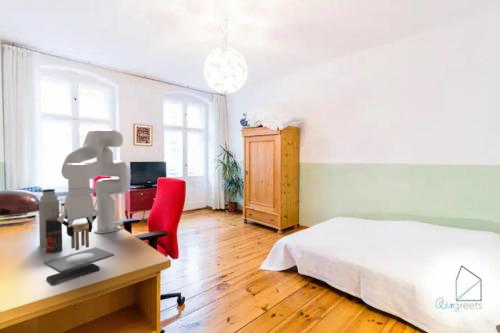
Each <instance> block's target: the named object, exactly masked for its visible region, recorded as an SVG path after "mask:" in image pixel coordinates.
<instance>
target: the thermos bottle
mask: <svg viewBox="0 0 500 333" xmlns="http://www.w3.org/2000/svg"><path fill="white" fill-rule="evenodd" d="M58 198H59V197H58V195H57V194H56V189H55V188H53V189H52V188H47V189H42V195H41V196H40V200H38V224H39V227H38V228H39V235H38V236H39V247H41V248H44V247H45V248H46V220H47V219H52V218H59V217H60V199H58Z"/></svg>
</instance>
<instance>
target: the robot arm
mask: <svg viewBox="0 0 500 333" xmlns="http://www.w3.org/2000/svg"><path fill="white" fill-rule="evenodd" d="M123 143H124V138H123V135H122V134H121V132H119V131H117V130H116V129H111V128H110V129H107V128H94V129H90V130H89V131H87V134H86V136H85V138H84V142H83V144H82V146H81V147H79V148H77V149H75V150H73V151H72V152H70V153H68V154H67V156H66V157H65V159H64V161H63V164H62V166H61V167H62V168H61V171H60V172H61V175H62V177H63V178H64V179H66V180H68V181H67V186H68V187H67V188H68V193H67V194H68V195H66V196H65V199H64V205H63V213H62V214H61V215H59V218H58V219H57V220H58V221H59V222H61V223H62V225H63V226H65V227H66V235H67V236H69V237H71V236H73V227H72V224H74V221H76V220H81V219H85V220H86V221H87V222H86V223H89V233H92V230H93V223H94V221H95V220H96V228H95V229H94V230H93V232H94V233H95V234H108V233H113V232H116V231H119V226H122V225H124V221H116V201H115V199H114V197H113V196H112V195H121V194H123V195H124V194H126V193H127V192H128V188H129V187H128V186H129V185H128V184H129V182H128V180H129V178H128V166H127V163H126V162H125V161H123V160H114V153H113V151H112V149H111V148H119V147H121V146H122V145H123ZM110 147H111V148H110ZM94 159H96V163H94V162H87V161H90V160H94ZM98 177H103V178H100V179H98V180H96V181H95V182H94V188H91V187H90V184H91V183H90V181H91V180H94V179H96V178H98ZM104 177H105V178H104ZM106 177H109V178H106ZM110 177H117V178H110ZM94 191H95V196H96V209H95V206H94V198H93V195H92V194H91V192H94ZM64 219H65V220H64Z"/></svg>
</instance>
